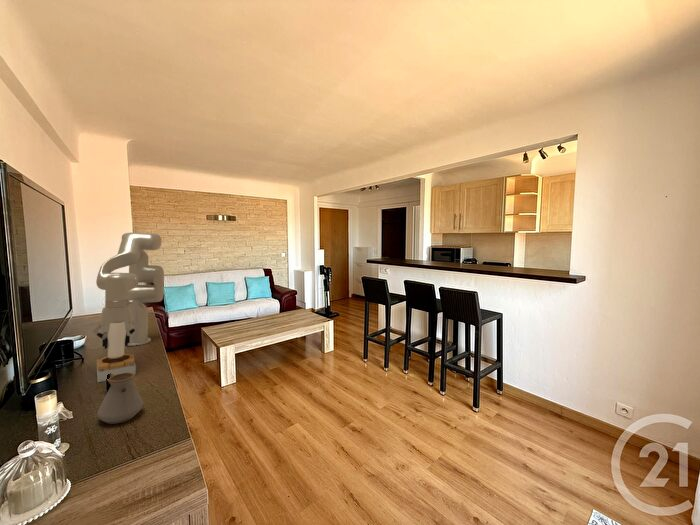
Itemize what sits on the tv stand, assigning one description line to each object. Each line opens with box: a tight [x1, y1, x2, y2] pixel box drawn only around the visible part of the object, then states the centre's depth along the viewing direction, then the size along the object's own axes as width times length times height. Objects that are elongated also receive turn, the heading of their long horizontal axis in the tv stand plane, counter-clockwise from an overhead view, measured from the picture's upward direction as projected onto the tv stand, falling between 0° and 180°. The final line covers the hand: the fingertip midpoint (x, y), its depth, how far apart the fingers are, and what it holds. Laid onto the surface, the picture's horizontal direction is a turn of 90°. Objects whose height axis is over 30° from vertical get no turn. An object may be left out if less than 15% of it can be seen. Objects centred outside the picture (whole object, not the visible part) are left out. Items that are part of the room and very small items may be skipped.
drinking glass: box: [107, 322, 126, 359], centre depth 122 cm, size 7×7×15 cm
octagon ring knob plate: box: [96, 353, 137, 383], centre depth 123 cm, size 16×12×6 cm
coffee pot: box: [96, 373, 144, 425], centre depth 88 cm, size 21×12×15 cm, turn 40°
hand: (116, 346), depth 122 cm, fingers closed on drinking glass, 6 cm apart
